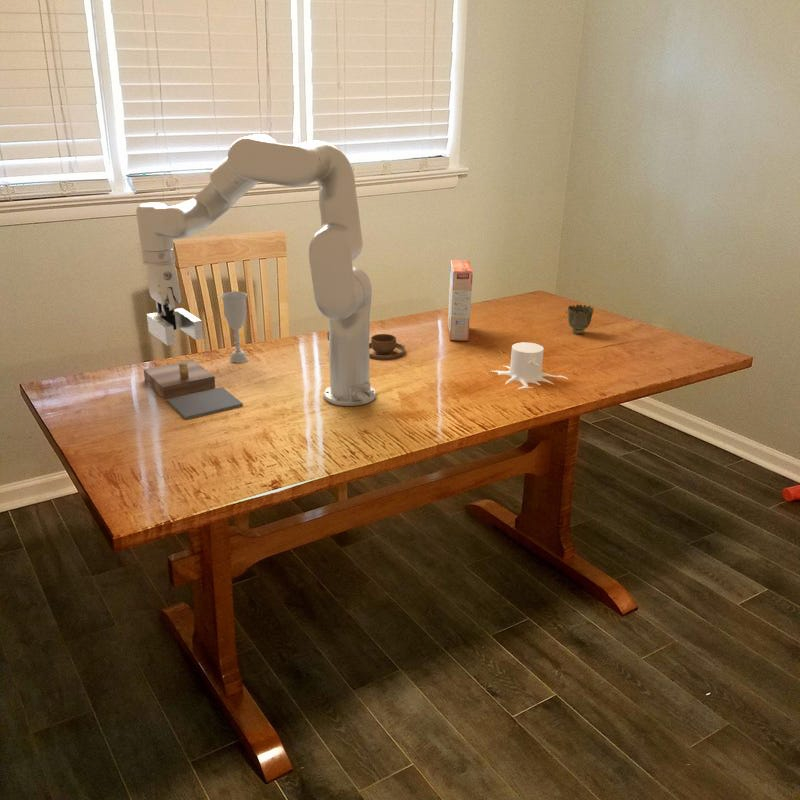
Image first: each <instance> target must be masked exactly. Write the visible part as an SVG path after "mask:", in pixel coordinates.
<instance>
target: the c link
mask: <svg viewBox="0 0 800 800" xmlns="http://www.w3.org/2000/svg"><path fill="white" fill-rule="evenodd" d="M161 316H163V314H162V312H157V311H156V312H152V313H146V320H147V326H148V332H149V333H150V334H152V336H154V337H155V338H156V339H158V340H159V341H160V342H162V343H163V344H165V346H172V345H173V346H174V345H176V338H175V330H174V328H173V325H171V324H170V323H168V322H167V321H166V320H164V319H163V318H161ZM175 321H176V330H178V329H179V330H181V331H182V332H184V333H185V334H186V335H188V336H189V337H190V338H191V339H194V340H196V341H197V340H201V339H204V338H205V337H204V330H203V321H202V319H200V318H198V317H197V316H195V314H192V313H190V312H189V311H188V310H186V309H184V308H183V307H180V308H176V309H175Z"/></svg>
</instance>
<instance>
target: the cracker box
mask: <svg viewBox="0 0 800 800" xmlns="http://www.w3.org/2000/svg"><path fill="white" fill-rule="evenodd" d="M472 268H473V267H472V266H471V262H470V260H467V259H462V260H461V259H459V260H458V259H451V260H450V269H449V270H450V271H449V291H448V311H447V312H448V313H447V315H448V316H447V331H448V337H449V341H461V342H468V341H469V339H470V323H471V305H472V304H471V303H472V290H473V289H472V288H473V274H474V271H473V269H472Z"/></svg>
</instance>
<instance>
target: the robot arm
mask: <svg viewBox="0 0 800 800" xmlns="http://www.w3.org/2000/svg"><path fill="white" fill-rule="evenodd" d="M209 179H210V181H209V182H208V184H207V185H206V186H205V187H204V188H203V189H201V190H200V191H199V192H198V193H197V194H196V195H195V196H193V197H192V198H190V199H189V200H185V201H182V202H180V203H177V204H175V205H171V206H169V205H167V204H165V203H163V202H145V203H140V204H139V205H138V206H137V207H136V211H135V213H136V220H137V229H138V236H139V243H140V248H141V257H142V264H144V265H146V275H147V276H146V277H147V286H148V293H149V296H150V297H151V299H153V300H154V301H155V306H156V312H162V314H163V316H161V318H163V319H164V320H166V321H167V322H168V323H170V324H171V325H173V328H174V331H175V330H177V329H176V321H175V309H177V308H176V303H178V304H179V303H181V302H182V295H181V290H180V285H179V279H178V278H179V277H178V274H177V270H176V269H177V268H176V266H175V262H176V256H175V247H174V246H175V245H174V239H175V240H176V239H177V240H180V239H185V238H187V237H190V236H192V235H194V234H196V233H200V232H201V231H204V230H205V229H206V228H208V227H210V226H211V225H212V224H214V223H215V222H216V221H217V220H218V219H220V218H221V217H222V216H223V215H224V214H226V213H227V212H228V211H229V210H230V209H231V208H232V207H233V205H235V204H236V203H237V201H239V199H240V198H242V197H243V196H244V195H246V194H247V193H248V192H249V191H250V190H252V189H253V188H254V187H255V186H256V185H258V184H259V183H265V184H272V185H278V186H284V187H288V188H289V187H290V188H301V187H306V186H309V185H311V184H313V183H315V182H316V183H317V184H318V188H319V189H318V190H319V192H318V206H319V208H318V209H319V213H320V221H321V224H320V225H321V228H320V229H319V230H318V231H316V233H315V234H314V235H313V236H312V238H311V240H310V243H309V247H308V261H309V268H310V274H311V275H310V276H311V282H312V283H311V285H312V291H313V297H314V300H315V304H316V307H317V309H318V311H319V312H320V314H321V315H322V316H324V317H325V318H327V319H328V332H329V341H328V351H329V352H328V354H329V355H328V358H329V359H328V360H329V386H327V387H326V388H325V390H324V391H323V397H324V399H325V401H327V402H329V403H330V404H333V405H336V406H343V407H345V406H346V407H351V406H352V407H355V406H362V405H366V404H368V403H371V402H373V401H374V399H376V397H377V391H376V390H375V388H374V387H373V386H371V382H370V357H369V353H370V348H369V343H370V328H371V327H370V325H371V324H370V319H371V309H372V308H371V307H372V297H373V296H372V295H373V289H372V288H373V287H372V283H371V280H370V277H369V276H368V274H367V273H366V272H365V271H364V270H363V269H361V268H359V267H357V266H353V261H355V260H356V259H357V258H358V257H359V256H360V255H361V252H362V249H363V245H364V244H363V236H362V235H363V234H362V227H361V219H360V210H359V205H358V204H359V203H358V197H357V187H356V180H355V175H354V171H353V167H352V165H351V163H350V161H349V158H347V156H346V155H345V153H343V152H342V150H340V149H339V148H338V147H336V146H334V145H333V144H331V143H329V142H326V141H321V140H308V141H307V140H306V141H304V142H300V143H297V144H284V143H278V142H277V141H276V140H275V139H274V138H272V137H271V136H269V135H268V134H262V133H258V134H257V133H255V134H252V135H248V136H247V135H246V136H243V137H240V138H238V139H237V140H235V141H234V142H233V143H232V144H231V145H230V147H229V149H228V152H227V157H225V158H224V159H222V161H220V162H219V163H218V164H217V165H215V167H214V168H212V169H211V171H210V173H209ZM175 302H176V303H175Z"/></svg>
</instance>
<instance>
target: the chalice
mask: <svg viewBox="0 0 800 800" xmlns="http://www.w3.org/2000/svg"><path fill="white" fill-rule="evenodd" d="M247 296H248V293H247V292H244V291H227V292H224V293H222V294H220V298H221V300H222V302H223V303H222V304H223V305H222V306H223V314H224V318H225V319H226V322H227V323H228V325H229V327H230V328H231V329H232V330H234V336H233V337H234V339H235V341H234V342H233V344H235V349H234V350H233V351H232V352H231V355H230V356H229V359H228V360H230V361H231V362H230V361H229V362H230V363H233V362H236V363H235V364H242V363H246V362H248V361H249V358H248V357H247V354H246V352H245V351H244V350H242V349H241V348H240V346H241V345H240V344H241V343H242V342H241V341H240V337H241V335H240V333H239V330H240V329H242V327H243V325H244V322H245V320H246V316H247V313H248V312H247ZM245 361H246V362H245ZM241 362H242V363H241Z"/></svg>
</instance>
